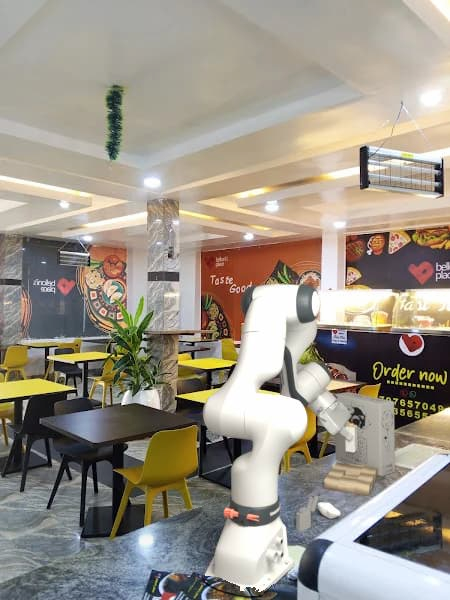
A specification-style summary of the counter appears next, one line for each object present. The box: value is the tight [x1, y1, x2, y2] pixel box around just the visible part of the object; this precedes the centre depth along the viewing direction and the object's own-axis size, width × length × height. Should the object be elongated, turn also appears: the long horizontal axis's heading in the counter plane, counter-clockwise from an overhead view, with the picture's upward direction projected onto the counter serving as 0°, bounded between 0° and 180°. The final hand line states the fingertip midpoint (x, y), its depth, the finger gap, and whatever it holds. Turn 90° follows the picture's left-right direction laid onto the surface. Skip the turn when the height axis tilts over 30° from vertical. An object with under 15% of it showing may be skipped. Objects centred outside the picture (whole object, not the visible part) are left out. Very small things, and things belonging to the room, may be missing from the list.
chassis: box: [323, 461, 379, 497], centre depth 157 cm, size 18×14×3 cm
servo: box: [345, 423, 357, 452], centre depth 157 cm, size 4×3×9 cm
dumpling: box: [317, 501, 341, 520], centre depth 133 cm, size 7×5×4 cm
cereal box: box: [334, 391, 396, 477], centre depth 173 cm, size 22×8×25 cm, turn 32°
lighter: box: [295, 493, 319, 532], centre depth 127 cm, size 7×2×8 cm, turn 126°
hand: (353, 436), depth 157 cm, fingers closed on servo, 4 cm apart
